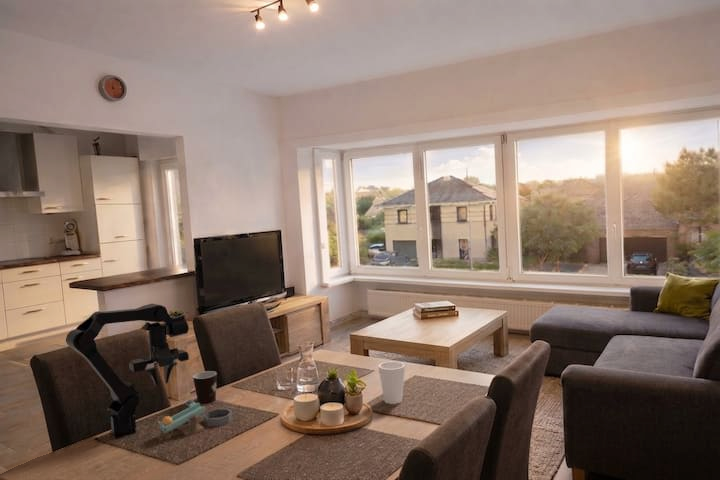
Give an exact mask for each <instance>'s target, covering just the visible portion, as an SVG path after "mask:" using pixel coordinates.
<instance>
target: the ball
mask: <svg viewBox="0 0 720 480" xmlns="http://www.w3.org/2000/svg"><path fill="white" fill-rule="evenodd" d="M171 417H172V416H169V415H167V416H164V417H163V418H162V420H161V422H162V424H164V425H165V427H166V426H168V425H170V424H172V422H173V420H172V418H171Z"/></svg>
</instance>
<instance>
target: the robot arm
mask: <svg viewBox="0 0 720 480" xmlns="http://www.w3.org/2000/svg"><path fill="white" fill-rule="evenodd" d="M139 321H142V322H143V321H144V322H145V323H144V325H142V326H141V330H144V331H148V344H147V345H148V347H149V356H148V357H149V359H146V360H144V359H143V358H137V359H132V360H130V362H129V363H128V368H129V370H130V371H132V372H133V373H137V372H141V371H142V372H143V371H146V372H148V374H149V376H150V378H151V379H152V381H153V383H154V386H155V387H158V384H159V383H158V377H157V368H156V367H155V364H156V365H158V367H160V368H161V367H163V373H164V374H163V375H164V382H165V383H164V384H168V382H169V379H170V376H171V372H172V370H173V368H174V367H175V366H177V365H178V362H179V361H180V362H185V361H188V360H190V356H189V355H190V354H189V353H188V352H187V351H185V350H184V349H178V348H177V347H176V348H172V349H170V346H169V343H168V338H167V337H170V338H174V337H178V336H182V335H187V334H188V332H189V324H188V321H187V320H186V317H185V315H178V316H173V317H172V316H171V315H170V314H169V313H168V310H167V307H166V306H164V305H162V304H157V303H149V304H145V305H141V306H140V307H137V308H131V309H119V310H118V309H117V310H108V311H94V312H93V313H92V314H91V315H90V316H89V317H88V318H86V319H85V320H84V321H83V322H81V323H80V324H79V325H77V327H76V328H75V329H72V330H70V331H69V332H68V333H67V334H66V337H65V343H66V344H67V345H68V346H69V347H70V348H71V349H72V350H73V351H75V352H76V353H77V354H78V355H80V356H81V357H83V358H84V359H85V361H86V362H87V363H88V364H89V365H90V367H91V368H92V369H93V370H94V372H95V373H96V374H97V375H98V376H99V378H100V379H101V380H102V382H103V383H104V384H105V385H106V387H107V388H108V389H109V392H110V396H111V398H112V401H111V402H110V404H109V405H108V406H107V408H106V409H107V411H108V413H109V414H111V415H110V424H111V425H110V426H111V430H110V434H111V435H112V436H113V437H114V438H115V439H118V438H121V437H124V436H127V435H131V434H134V433H137V430H136V428H137V422H136V415H135V413H136V410H137V406H138V405H139V403H140V400H141V399H140V396H139V394H140V392H139V391H137V390H136V388H135V387H134V384H132V383H131V382H128V381H125V380H124V381H122V380H121V379H120V378H119V376H118V375H117V373H116V372H115V371H114V370H113V368H112V367H111V366H110V365H109V363H108V362H107V361H106V359H105V358H104V357H103V356H102V355H101V353H100V352H99V350H98V346H97V343H96V341H95V339H96V338H97V337H98V335H99V334H100V332H101V331H102V330H103V327H104V326H105V325H108V324H109V325H110V324H118V323H127V322H139ZM150 322H152V323H150ZM161 322H162V323H161ZM176 360H178V362H177V361H176Z"/></svg>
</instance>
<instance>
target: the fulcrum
mask: <svg viewBox="0 0 720 480" xmlns="http://www.w3.org/2000/svg"><path fill="white" fill-rule="evenodd" d="M175 429H176V430H175V431H172V432H170V431H169V432H167V433H164V432H163V431H162V430H161V429H160V435H159V436H157V438H158V439H159V441H162V440H164V441H167V440H170V439H171V438H172V437H175V436H178V435H182V434H183V436H184V437H189V436H191V435H192V436H193V435H195V434H199V433H201V432H204V430H205V427H203V426H202V425H201V424H200V423H198V422H197V416H196V417H195V416H193V417H190V420H189V421H187V422H185V423H184V424H182V425H180V426H178V427H176V428H175Z"/></svg>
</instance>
